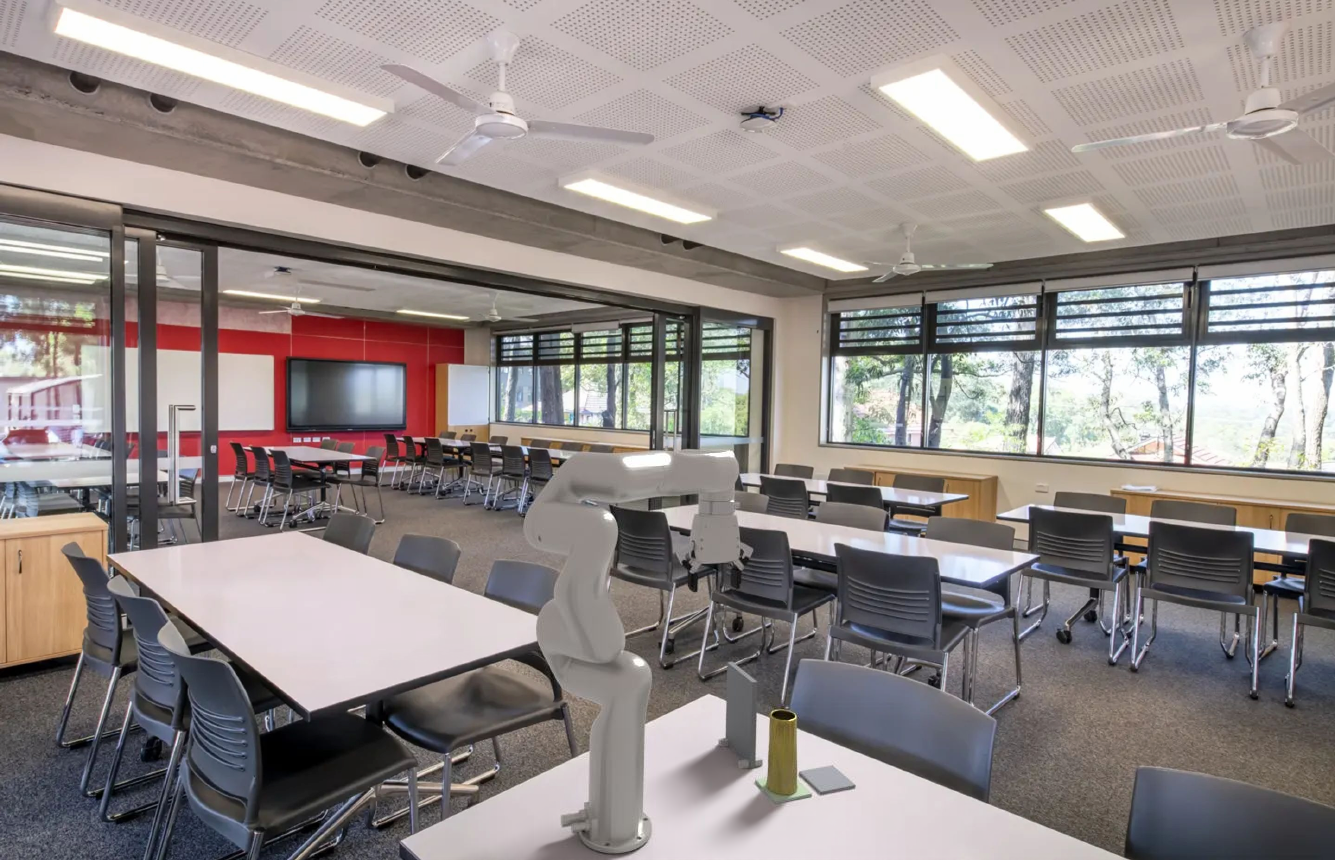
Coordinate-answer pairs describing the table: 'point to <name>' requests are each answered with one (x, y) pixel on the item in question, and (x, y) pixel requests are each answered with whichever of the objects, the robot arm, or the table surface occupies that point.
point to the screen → (741, 716)
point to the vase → (782, 752)
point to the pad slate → (827, 779)
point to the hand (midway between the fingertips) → (714, 589)
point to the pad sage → (778, 798)
